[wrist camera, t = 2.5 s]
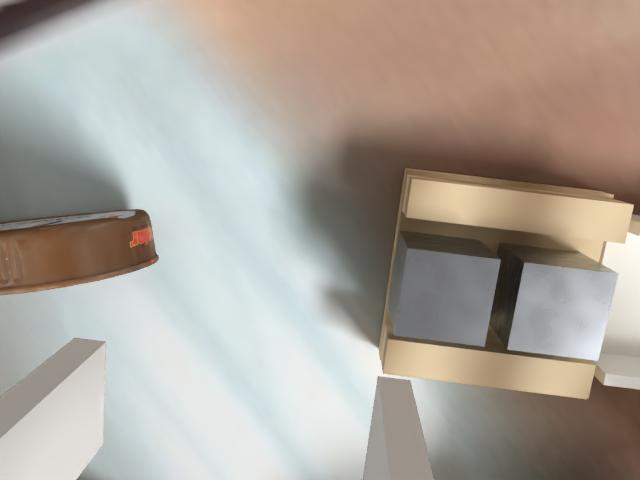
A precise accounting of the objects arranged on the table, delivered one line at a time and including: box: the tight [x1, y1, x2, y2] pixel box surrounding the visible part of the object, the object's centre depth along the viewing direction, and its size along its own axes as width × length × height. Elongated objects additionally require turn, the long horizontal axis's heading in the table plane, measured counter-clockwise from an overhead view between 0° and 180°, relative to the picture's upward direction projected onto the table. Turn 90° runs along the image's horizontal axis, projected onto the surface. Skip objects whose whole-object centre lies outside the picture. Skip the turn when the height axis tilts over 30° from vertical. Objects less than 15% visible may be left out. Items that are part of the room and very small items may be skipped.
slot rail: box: [379, 168, 634, 399], centre depth 28 cm, size 10×10×4 cm
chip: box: [489, 242, 619, 361], centre depth 26 cm, size 4×4×4 cm
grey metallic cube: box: [388, 230, 501, 347], centre depth 26 cm, size 4×4×4 cm
